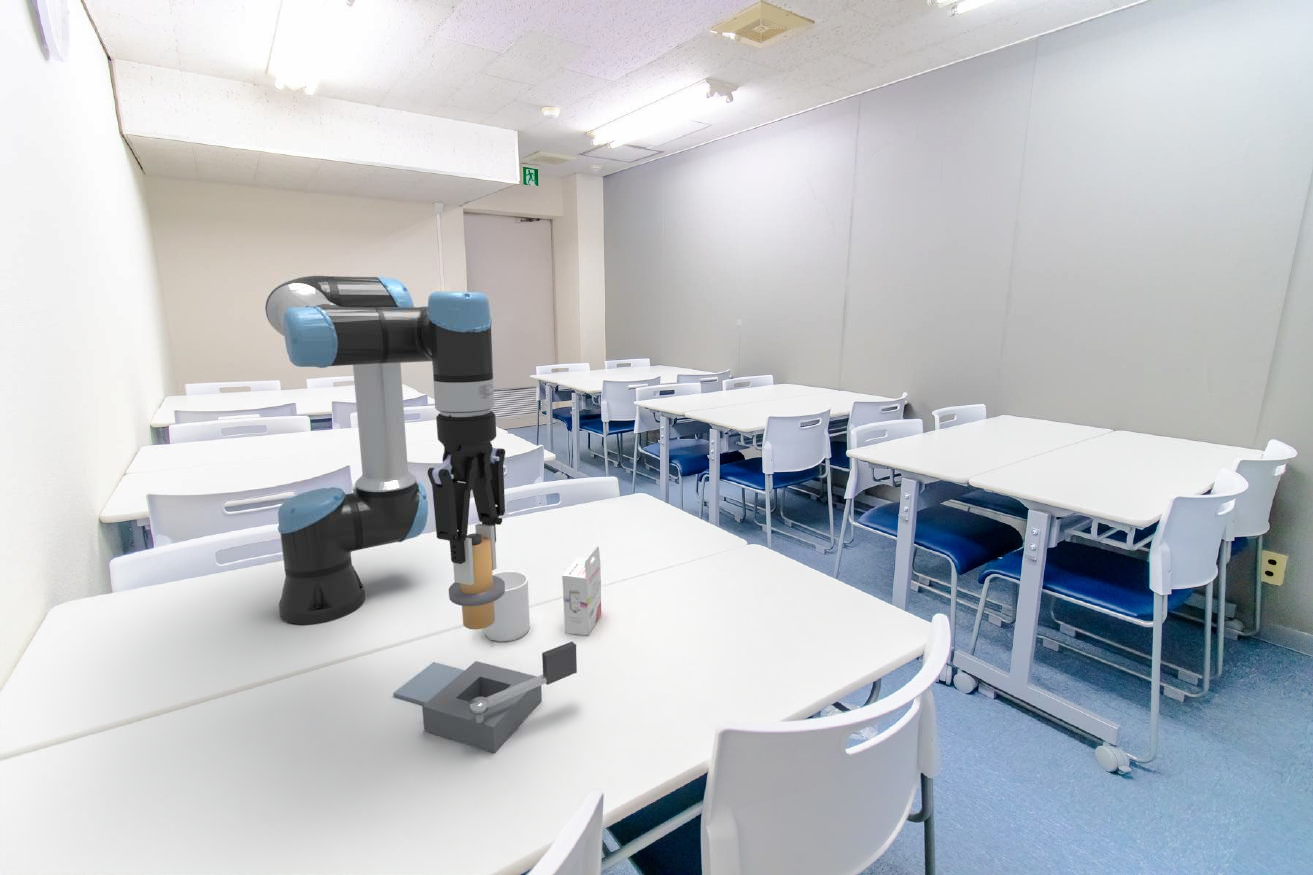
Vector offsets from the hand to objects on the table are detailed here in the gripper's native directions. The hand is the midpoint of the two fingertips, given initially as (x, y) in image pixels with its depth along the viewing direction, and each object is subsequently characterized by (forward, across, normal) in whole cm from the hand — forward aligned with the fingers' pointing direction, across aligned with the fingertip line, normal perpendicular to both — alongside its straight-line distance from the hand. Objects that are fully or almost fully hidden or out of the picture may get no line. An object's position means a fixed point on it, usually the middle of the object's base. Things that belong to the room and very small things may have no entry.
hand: (476, 574), depth 85 cm
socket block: (+22, 0, 0) cm, 22 cm away
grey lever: (+17, 0, -7) cm, 18 cm away
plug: (+7, 0, 0) cm, 7 cm away
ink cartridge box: (+23, +29, -1) cm, 37 cm away
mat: (+22, +3, +11) cm, 25 cm away
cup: (+23, +23, +12) cm, 34 cm away
